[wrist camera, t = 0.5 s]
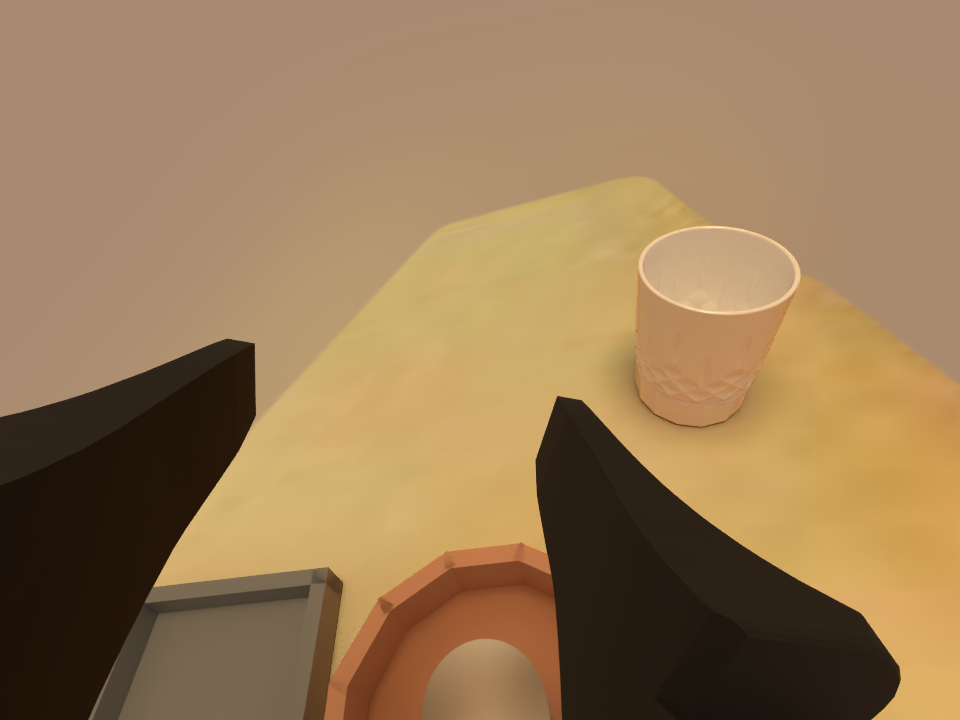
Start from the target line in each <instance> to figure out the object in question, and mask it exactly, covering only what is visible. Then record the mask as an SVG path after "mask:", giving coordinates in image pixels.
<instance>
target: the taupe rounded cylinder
mask: <svg viewBox="0 0 960 720" xmlns="http://www.w3.org/2000/svg"><path fill="white" fill-rule="evenodd" d="M422 720H552V716H551V712H550V708H549V704H548V700H547V697H546V693H545V689H544V686H543V683H542V681H541V678H540V676H539V674H538V672H537V671H536V669H535V667H534V666H533V664H532V663H531V662H530V660H529V659H528V658H527V657H526V656H525V655H524V654H523V653H522V652H520V651H519V650H518V649H516V648H515V647H513V646H512V645H510V644H507V643H505V642H503V641H499V640H494V639H478V640H473V641H470V642H467V643H464V644H462V645H460V646H458V647H457V648H455V649H454V650H452V651H451V652H450V653H449V654H448V655H447V656H446V657H445V658H444V659H443V660H442V661H441V662H440V663H439V665H438V666H437V668H436V669H435V671H434V672H433V674H432V676H431V678H430V680H429V683H428V685H427V688H426V691H425V695H424V700H423V705H422Z"/></svg>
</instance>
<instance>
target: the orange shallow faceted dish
mask: <svg viewBox="0 0 960 720" xmlns="http://www.w3.org/2000/svg"><path fill="white" fill-rule="evenodd" d="M478 639H494V640H499V641H503V642H505V643H507V644H510V645H512V646H513V647H515V648H516V649H518V650H519V651H520V652H522V653H523V654H524V655H525V656H526V657H527V658H528V659H529V660H530V662H531V663H532V664H533V666H534V667H535V669H536V671H537V672H538V674H539V676H540V678H541V681H542V683H543V686H544V689H545V693H546V697H547V700H548V704H549V708H550V712H551V716H552V720H562V711H561V685H560V667H559V650H558V634H557V621H556V608H555V597H554V589H553V582H552V576H551V571H550V565H549V560H548V554H546V553H543V552H541V551H539V550H536V549H534V548H531V547H529V546H527V545H524V544H523V543H520V544H511V545H502V546H494V547H485V548H476V549H467V550H459V551H450V552H448V551H447V552H445V553H444V554H442V555H441V556H440V557H438V558H437V559H435V560H434V561H432V562H431V563H429V564H428V565H427V566H425V567H424V568H422V569H421V570H419V571H418V572H417V573H415V574H414V575H412V576H411V577H409V578H408V579H406V580H405V581H404V582H402V583H401V584H399V585H398V586H396V587H395V588H393V589H392V590H391V591H389V592H388V593H386V594H385V595H383V596H382V597H379V599H378V601H377V603H376V604H375V606H374V608H373V609H372V611H371V613H370V614H369V616H368V618H367V619H366V621H365V623H364V625H363V626H362V628H361V630H360V631H359V633H358V635H357V636H356V638H355V640H354V641H353V643H352V645H351V647H350V648H349V650H348V652H347V653H346V655H345V657H344V658H343V660H342V662H341V663H340V665H339V667H338V669H337V670H336V672H335V674H334V675H333V677H332V679H331V680H330V681H329V684H328V685H329V687H328V694H327V701H326V709H325V716H324V720H422V705H423V700H424V695H425V691H426V688H427V685H428V683H429V680H430V678H431V676H432V674H433V672H434V671H435V669H436V668H437V666H438V665H439V663H440V662H441V661H442V660H443V659H444V658H445V657H446V656H447V655H448V654H449V653H450V652H451V651H452V650H454V649H455V648H457V647H458V646H460V645H462V644H464V643H467V642H470V641H473V640H478Z"/></svg>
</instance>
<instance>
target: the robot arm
mask: <svg viewBox="0 0 960 720" xmlns="http://www.w3.org/2000/svg"><path fill="white" fill-rule="evenodd" d="M255 400H256V398H255V344H254V343H248V342H243V341H237V340H232V339H225V340H222V341H219V342H216V343H214V344H211V345H208V346H206V347H204V348H201V349H199V350H196V351H194V352H192V353H189V354H187V355H185V356H182V357H180V358H177V359H175V360H173V361H170V362H168V363H166V364H163V365H161V366H158V367H156V368H153V369H151V370H149V371H146V372H144V373H141V374H138V375H136V376H133V377H130V378H128V379H125V380H122V381H119V382H117V383H114V384H111V385H109V386H106V387H103V388H101V389H98V390H95V391H92V392H89V393H86V394H83V395H80V396H77V397H74V398H71V399H67V400H64V401H60V402H57V403H53V404H50V405H46V406H43V407H40V408H36V409H32V410H28V411H25V412H21V413H16V414H12V415H8V416H4V417H0V720H89V717H90V715H91V713H92V711H93V708H94V706H95V704H96V702H97V699H98V697H99V695H100V693H101V691H102V689H103V687H104V685H105V682H106V680H107V678H108V676H109V674H110V672H111V670H112V668H113V666H114V664H115V661H116V659H117V657H118V655H119V653H120V651H121V649H122V647H123V645H124V643H125V641H126V638H127V636H128V634H129V633H130V631H131V629H132V627H133V625H134V623H135V621H136V619H137V617H138V615H139V613H140V611H141V609H142V607H143V605H144V603H145V601H146V599H147V597H148V595H149V593H150V591H151V589H152V588H153V586H154V584H155V582H156V580H157V578H158V576H159V575H160V573H161V571H162V569H163V567H164V565H165V563H166V562H167V560H168V558H169V556H170V554H171V552H172V550H173V549H174V547H175V545H176V544H177V542H178V541H179V539H180V537H181V536H182V534H183V533H184V531H185V529H186V528H187V526H188V525H189V524H190V522H191V521H192V519H193V518H194V516H195V515H196V513H197V512H198V510H199V509H200V507H201V506H202V505H203V503H204V502H205V500H206V499H207V497H208V496H209V494H210V493H211V491H212V490H213V488H214V487H215V486H216V484H217V483H218V481H219V480H220V478H221V477H222V475H223V474H224V472H225V471H226V469H227V468H228V466H229V465H230V463H231V462H232V460H233V459H234V457H235V456H236V454H237V453H238V451H239V449H240V447H241V445H242V443H243V441H244V439H245V437H246V435H247V433H248V431H249V429H250V427H251V425H252V423H253V420H254V418H255V416H256V403H255V402H256V401H255ZM536 485H537V498H538V505H539V510H540V516H541V522H542V527H543V533H544V538H545V543H546V549H547V554H548V560H549V565H550V571H551V576H552V582H553V589H554V597H555V608H556V621H557V634H558V650H559V667H560V685H561V711H562V720H871V719H873V718H874V717H875V716H876V715H877V714H878V713H879V712H881V711H882V710H883V709H884V708H885V707H886V706H887V704H888V703H889V702H890V701H891V700H892V699H893V698H894V696H895V694H896V691H897V689H898V687H899V684H900V680H901V677H900V669H899V666H898V664H897V663H896V662H895V660H894V659H893V657H892V656H891V655H890V653H889V652H888V650H887V649H886V648H885V646H884V645H883V643H882V642H881V641H880V639H879V638H878V636H877V635H876V634H875V632H874V631H873V629H872V628H871V626H870V625H869V624H868V622H867V621H866V619H865V618H864V617H863V615H862V614H861V613H859V612H857V611H856V610H854V609H852V608H850V607H848V606H846V605H844V604H842V603H840V602H839V601H837V600H835V599H833V598H831V597H829V596H827V595H825V594H824V593H822V592H820V591H818V590H816V589H814V588H812V587H810V586H808V585H807V584H805V583H803V582H801V581H799V580H797V579H796V578H794V577H792V576H791V575H789V574H787V573H786V572H784V571H782V570H781V569H779V568H777V567H776V566H774V565H772V564H771V563H769V562H767V561H766V560H764V559H762V558H761V557H759V556H758V555H756V554H755V553H753V552H751V551H750V550H748V549H747V548H745V547H744V546H742V545H741V544H739V543H738V542H736V541H735V540H734V539H732V538H731V537H729V536H728V535H726V534H725V533H724V532H722V531H721V530H719V529H718V528H716V527H715V526H714V525H712V524H711V523H710V522H708V521H707V520H706V519H704V518H703V517H702V516H700V515H699V514H698V513H696V512H695V511H694V510H693V509H692V508H690V507H689V506H688V505H687V504H685V503H684V502H683V501H682V500H681V499H679V498H678V497H677V496H676V495H674V494H673V493H672V492H671V491H670V490H669V489H668V488H666V487H665V486H664V485H663V484H662V483H661V482H660V481H659V480H658V479H657V478H656V477H655V476H653V475H652V474H651V473H650V472H649V471H648V470H647V469H646V468H645V467H644V466H643V465H642V464H641V463H640V462H639V461H638V460H637V459H636V458H635V457H634V456H633V455H632V454H631V453H630V452H629V451H628V450H627V449H626V448H625V447H624V445H623V444H622V443H621V442H620V441H619V440H618V439H617V438H616V437H615V436H614V435H613V434H612V432H611V431H610V430H609V429H608V428H607V427H606V426H605V425H604V424H603V422H602V421H601V420H600V419H599V418H598V417H597V416H596V415H595V414H594V413H593V411H592V410H591V409H590V408H589V407H588V406H587V405H586V404H585V403H584V402H583V401H582V400H577V399H571V398H565V397H560V396H557V399H556V402H555V404H554V407H553V410H552V413H551V416H550V419H549V422H548V425H547V428H546V431H545V434H544V437H543V440H542V443H541V446H540V449H539V452H538V455H537V458H536Z"/></svg>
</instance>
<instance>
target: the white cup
mask: <svg viewBox="0 0 960 720" xmlns="http://www.w3.org/2000/svg"><path fill="white" fill-rule="evenodd" d="M800 277H801V273H800V268H799V265H798V263H797V261H796V259H795V258H794V257H793V255H792V254H791V253H790V252H789V251H788V250H787V249H785V248H784V247H783V246H782V245H780V244H779V243H777V242H775V241H773V240H771V239H770V238H767V237H765V236H763V235H760V234H757V233H755V232H751V231H748V230H743V229H739V228H733V227H724V226H698V227H690V228H684V229H680V230H676V231H673V232H670V233H667V234H665V235H663V236H661V237H659V238H657V239H656V240H654V241H653V242H651V243H650V244H649V245H648V246H647V247H646V248H645V249H644V251H643V252H642V254H641V256H640V258H639V262H638V284H637V307H636V345H635V353H636V378H635V381H636V385H637V389H638V393H639V397H640V399H641V400H642V401H643V402H644V403H645V404H646V405H647V406H648V407H649V409H650V410H651V411H652V412H653V413H654V414H656V415H658V416H660V417H662V418H665V419H667V420H669V421H671V422H673V423H675V424H680V425H689V426H699V427H704V426H708V425H711V424H715V423H719V422H723V421H726V420H727V419H728V418H729V417H730V416H731V415H732V414H733V413H735V412H736V411H737V410H738V409H739V408H740V407H741V405H742V403H743V400H744V398H745V396H746V393H747V391H748V389H749V386H750V384H751V383H752V382H753V380H754V378H755V377H756V375H757V374H758V372H759V369H760V367H761V365H762V363H763V360H764V359H765V357H766V355H767V353H768V351H769V349H770V347H771V345H772V343H773V340H774V338H775V336H776V334H777V331H778V329H779V327H780V325H781V323H782V320H783V318H784V316H785V314H786V311H787V309H788V307H789V305H790V303H791V300H792V298H793V296H794V294H795V292H796V290H797V287H798V285H799V282H800Z"/></svg>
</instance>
